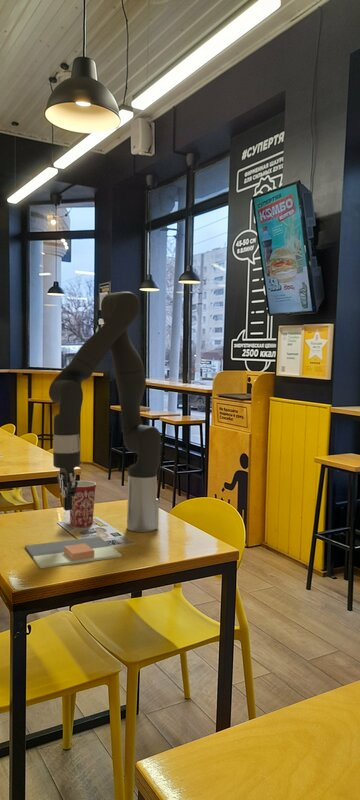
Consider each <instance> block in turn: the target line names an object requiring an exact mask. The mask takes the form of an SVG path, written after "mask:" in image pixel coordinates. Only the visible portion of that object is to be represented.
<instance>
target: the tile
mask: <svg viewBox="0 0 360 800" xmlns="http://www.w3.org/2000/svg"><path fill="white" fill-rule="evenodd" d="M64 553H65V554H66V555H67V556H68V557H69V558H70V559H72V560H79V559H86V558H92V557H94V550H93V549H92V548H90V547H89V546H88V545H87V544H85V543H83V544H76V545H69V546H64Z"/></svg>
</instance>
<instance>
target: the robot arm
mask: <svg viewBox="0 0 360 800" xmlns="http://www.w3.org/2000/svg"><path fill="white" fill-rule="evenodd" d="M140 311H141V303H140V299H139V298H138V296H137V295H136V294H135V293H133V292H131V291H117V292H109V293H106V295H104V297H103V298H102V300H101V303H100V312H101V317H102V321H103V325H101V327H100V328H99V329H98V330H97V331H95V333H93V334H92V335H91V336H90V337H89V338H88V339H87V340H86V341H84V343H83V344H81V346H80V347H79V349H78V350H77V352H76V353H75V355H74V356H73V358H72V359H71V361H70V362H69V364H68V365H66V366H65V368H63V369H62V371H60V372H59V374H58V375H57V376H56V377H55V378H54V379H53V380H52V382H51V384H50V385H49V388H48V396H49V398H50V400H51V401H52V402H54V403H55V404H59V412H58V413H56V414H55V415H54V416H53V440H52V455H53V456H52V458H53V460H52V461H53V467H54V468H57V469H59V472H58V473H57V475H56V478H57V482H58V487H59V492H60V494H61V496H62V508H63V511H70V510H72V497H73V496H75V493H76V489H77V485H78V481H79V480H76V477H77V475H76V473H75V468H77V467H80V466H81V439H80V425H79V424H80V423H79V419H80V416H81V415H80V414H81V412H82V411H81V410H82V405H83V400H84V392H83V388H82V386H81V384H80V383H82V382H83V381H86V380H88V379H90V377H91V376H92V375H93V373H95V371H96V369H97V367H98V365H100V362H101V361H102V360H103V358H104V356H106V354H107V352H108V351H109V350H110V353H111V358H112V365H113V369H114V370H113V371H114V376H115V377H114V378H115V383H116V388H117V393H118V399H119V406H120V412H121V413H120V415H121V427H122V429H121V430H122V436H123V437H122V438H123V443H124V446H125V448H126V450H127V451H128V452H130V453H134V454H137V455H138V456H137V460H136V463H132V464H131V465H129V466H128V469H127V471H128V472H127V510H126V511H127V513H126V514H127V515H126V517H127V519H126V523H127V524H126V528H127V530H129V531H131V532H139V533H148V532H151V531H154V530H159V514H160V513H159V512H160V509H159V507H160V506H159V505H160V500H159V498H157V494H158V493H157V490H158V489H157V487H158V486H157V485H158V484H157V483H158V482H157V481H158V480H157V479H158V469H159V467H160V463H161V452H162V451H161V450H162V449H161V448H162V437H161V433H160V431H159V429H158V428H157V427H155V426H151V425H147V424H143V422H142V417H141V403H142V400H143V397H144V394H145V391H146V385H147V380H146V374H145V373H146V372H145V367H144V363H143V360H142V358H141V356H140V354H139V352H138V351H137V349H136V348H135V346H134V344H133V342H132V340H131V338H130V336H129V331H128V328H129V326H130V325H131V324H132V323H133V322H134V321H135V320H136V319H137V317H138V315H139V314H140Z"/></svg>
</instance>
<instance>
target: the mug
mask: <svg viewBox="0 0 360 800" xmlns="http://www.w3.org/2000/svg"><path fill="white" fill-rule="evenodd" d="M77 481H78V485H77V489H76V493H75V496H73V497H72V510H69V522H70V523H69V525H70V526H72V527H75V526H76V528H84V527H86V526H87V527H90V526H92V525H93V522H94V510H95V497H96V486H97V483H96V482H95V481H89V480H77Z"/></svg>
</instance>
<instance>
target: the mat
mask: <svg viewBox="0 0 360 800" xmlns="http://www.w3.org/2000/svg"><path fill="white" fill-rule="evenodd" d="M83 543H85V544H87V545H88V546H89V547H90V548H92V549H93V550H94V557H92V558H86V559H79V560H72V559H70V558H69V557H68V556H67V555H66V554H65V553H64V546H69V545H76V544H83ZM24 549H25V550H26V551H27V552H28V554H29V555H30V556H31V558H32V559H33V561H34V562H35V563H36V565H37V566H38V568H40V569H44V568H45V569H46V568H53V567H60V566H67V565H73V564H80V563H81V564H82V563H87V562H94V561H99V560H100V561H101V560H102V561H103V560H107V559H108V560H109V559H116V558H122V553H120V552H119V551H118V550H116V549H115V548H114V547H113V546H112V545H110V544H109V543H108V542H107V541H105V540H104V538H102V537H100V536H92V537H84V538H76V539H70V540H69V539H68V540H60V541H53V542H52V541H51V542H44V543H36V544H28V545H24Z"/></svg>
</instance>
